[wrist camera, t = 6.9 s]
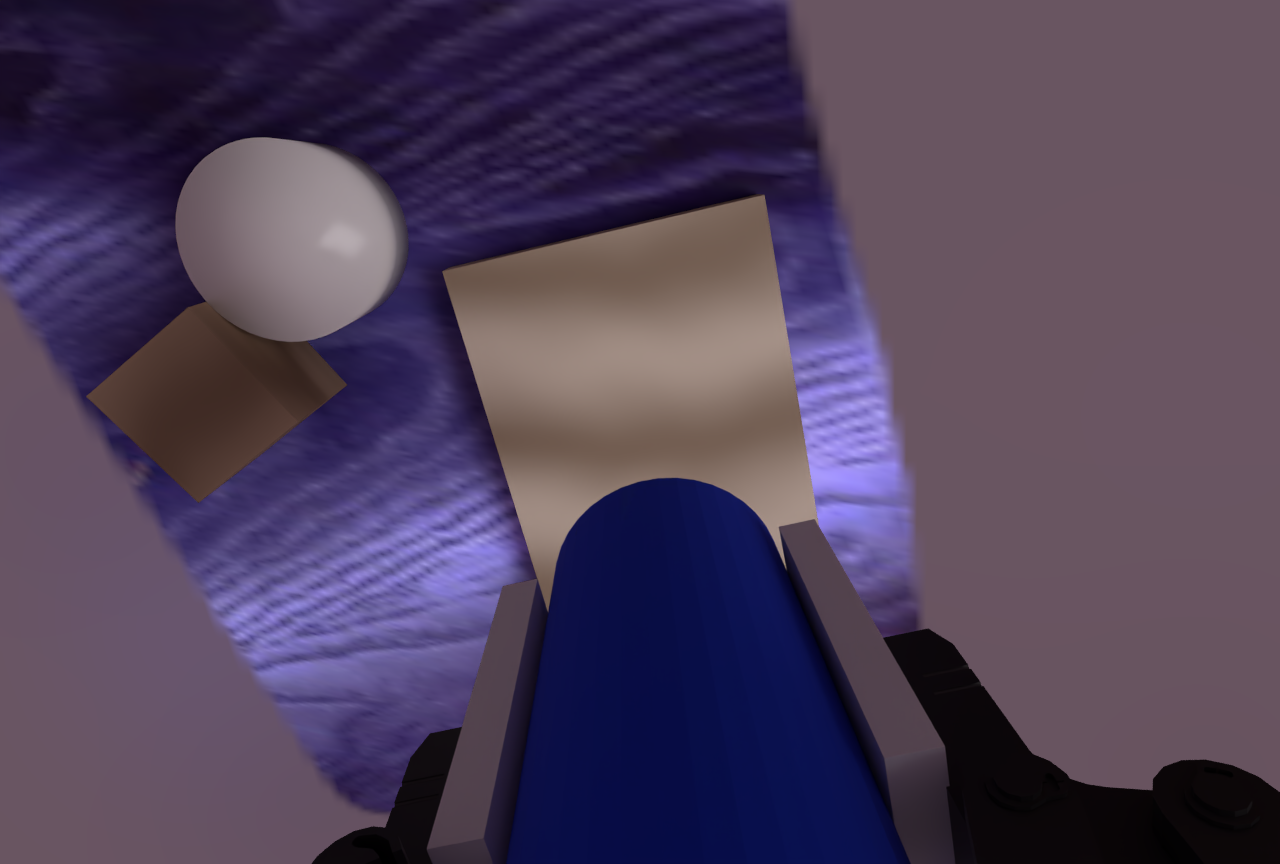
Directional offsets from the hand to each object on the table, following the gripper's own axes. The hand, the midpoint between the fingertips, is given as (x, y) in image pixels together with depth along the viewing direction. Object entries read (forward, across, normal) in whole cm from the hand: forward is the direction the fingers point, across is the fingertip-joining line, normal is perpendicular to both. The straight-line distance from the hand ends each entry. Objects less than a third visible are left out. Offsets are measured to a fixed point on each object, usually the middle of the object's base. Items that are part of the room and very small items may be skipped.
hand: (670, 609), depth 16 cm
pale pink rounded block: (+13, -10, +9) cm, 19 cm away
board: (+13, 0, 0) cm, 13 cm away
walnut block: (+13, -14, +5) cm, 19 cm away
